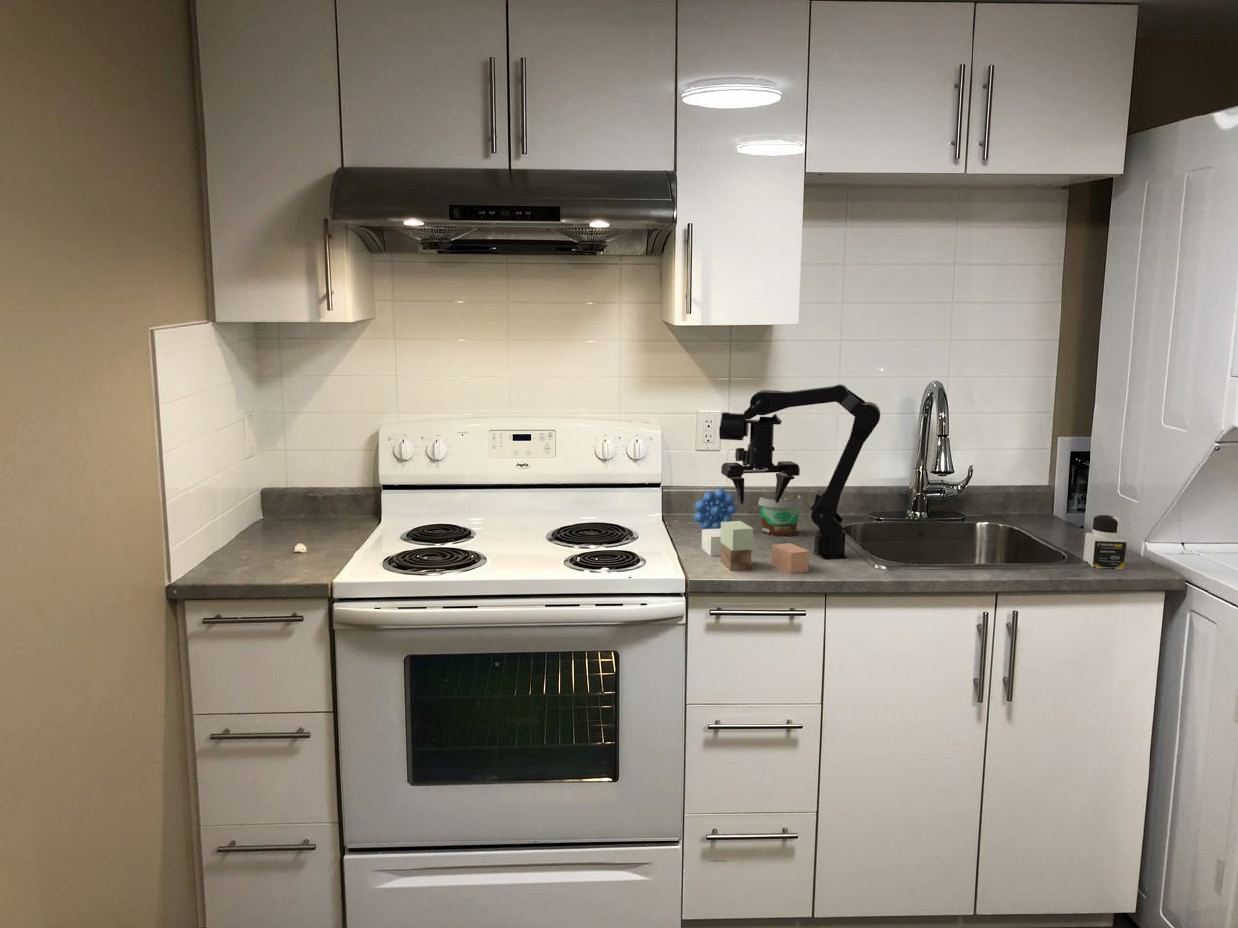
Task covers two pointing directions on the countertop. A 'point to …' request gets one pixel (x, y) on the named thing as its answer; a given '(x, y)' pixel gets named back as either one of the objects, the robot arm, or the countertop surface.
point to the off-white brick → (711, 541)
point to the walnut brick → (736, 558)
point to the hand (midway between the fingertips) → (759, 503)
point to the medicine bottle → (1105, 543)
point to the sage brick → (736, 535)
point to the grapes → (715, 509)
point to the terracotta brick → (790, 558)
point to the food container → (780, 516)
